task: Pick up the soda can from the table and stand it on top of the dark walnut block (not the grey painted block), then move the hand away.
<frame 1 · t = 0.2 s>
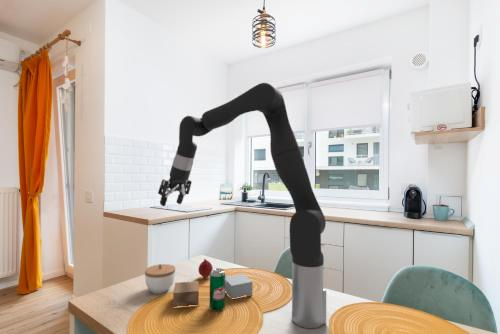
hand: (170, 204, 106), 31 cm above the table, fingers open, 8 cm apart
grey block: (237, 293, 96), on the table
walnut block: (186, 301, 89), on the table
lidded jar: (160, 290, 98), on the table
onion: (205, 278, 109), on the table
soda can: (217, 308, 85), on the table
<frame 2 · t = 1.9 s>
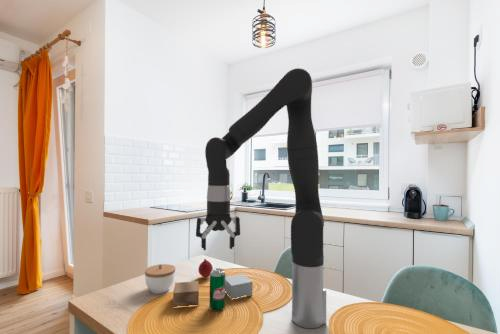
hand: (217, 249, 86), 19 cm above the table, fingers open, 8 cm apart
nothing on the table moved.
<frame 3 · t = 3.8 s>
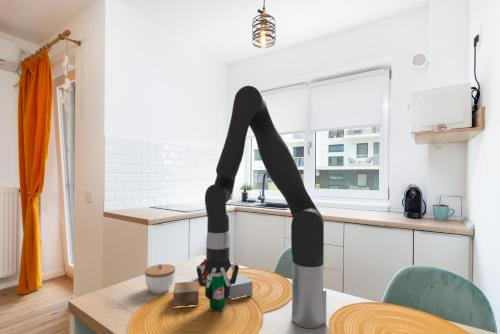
hand: (217, 297, 86), 3 cm above the table, fingers closed on soda can, 5 cm apart
soda can: (217, 308, 85), on the table, touching gripper
everything else where it was.
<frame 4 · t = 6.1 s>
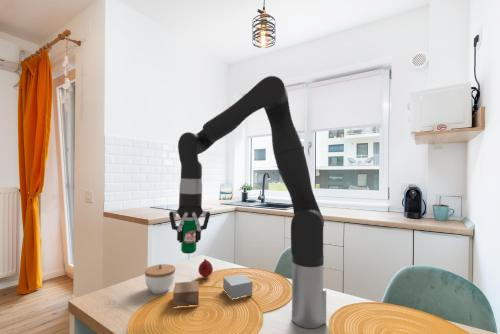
hand: (189, 241, 90), 20 cm above the table, fingers closed on soda can, 5 cm apart
soda can: (188, 252, 89), point 17 cm above the table, touching gripper
everything else where it was.
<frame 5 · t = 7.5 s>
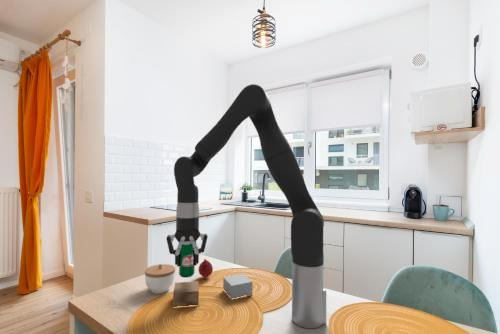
hand: (187, 265, 90), 12 cm above the table, fingers closed on soda can, 5 cm apart
soda can: (186, 275, 90), point 9 cm above the table, touching gripper
everything else where it was.
when the fingers open (10 cm above the table, at t = 8.4 s): soda can drops 1 cm, resting on walnut block.
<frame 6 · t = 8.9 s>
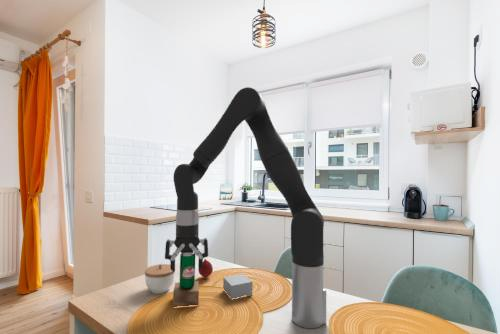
hand: (186, 270, 90), 11 cm above the table, fingers open, 8 cm apart
soda can: (187, 287, 89), point 5 cm above the table, touching walnut block
everything else where it was.
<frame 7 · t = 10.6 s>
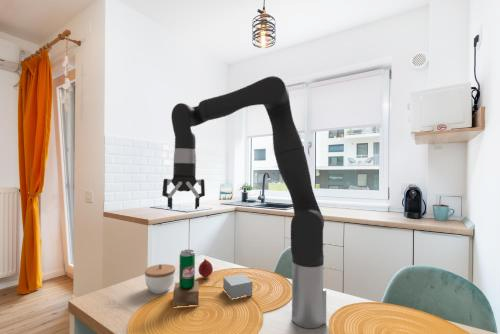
hand: (183, 208, 92), 31 cm above the table, fingers open, 8 cm apart
nothing on the table moved.
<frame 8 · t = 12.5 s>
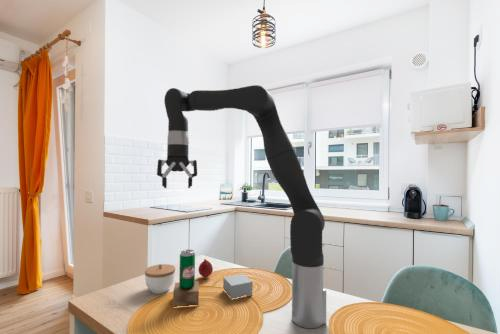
hand: (177, 188, 97), 38 cm above the table, fingers open, 8 cm apart
nothing on the table moved.
at the end: soda can inside the target area on the walnut block (0.1 cm from its centre), point 4.8 cm above the walnut block's base; soda can tilted 0°; the gripper is holding nothing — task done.
